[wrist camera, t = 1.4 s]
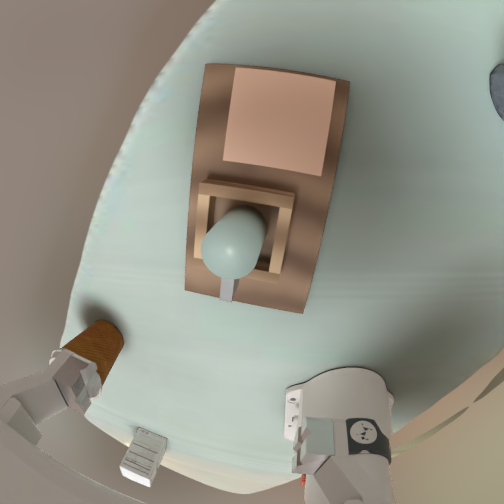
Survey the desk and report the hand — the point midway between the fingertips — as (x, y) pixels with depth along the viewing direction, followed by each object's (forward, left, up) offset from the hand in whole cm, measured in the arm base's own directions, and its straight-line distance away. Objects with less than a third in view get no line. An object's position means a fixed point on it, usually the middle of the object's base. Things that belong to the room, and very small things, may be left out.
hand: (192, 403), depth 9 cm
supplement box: (-57, +18, -25) cm, 65 cm away
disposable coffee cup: (-24, +23, -25) cm, 42 cm away
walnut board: (+3, +1, -25) cm, 25 cm away
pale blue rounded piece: (-3, +2, -24) cm, 24 cm away
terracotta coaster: (+11, 0, -24) cm, 26 cm away
